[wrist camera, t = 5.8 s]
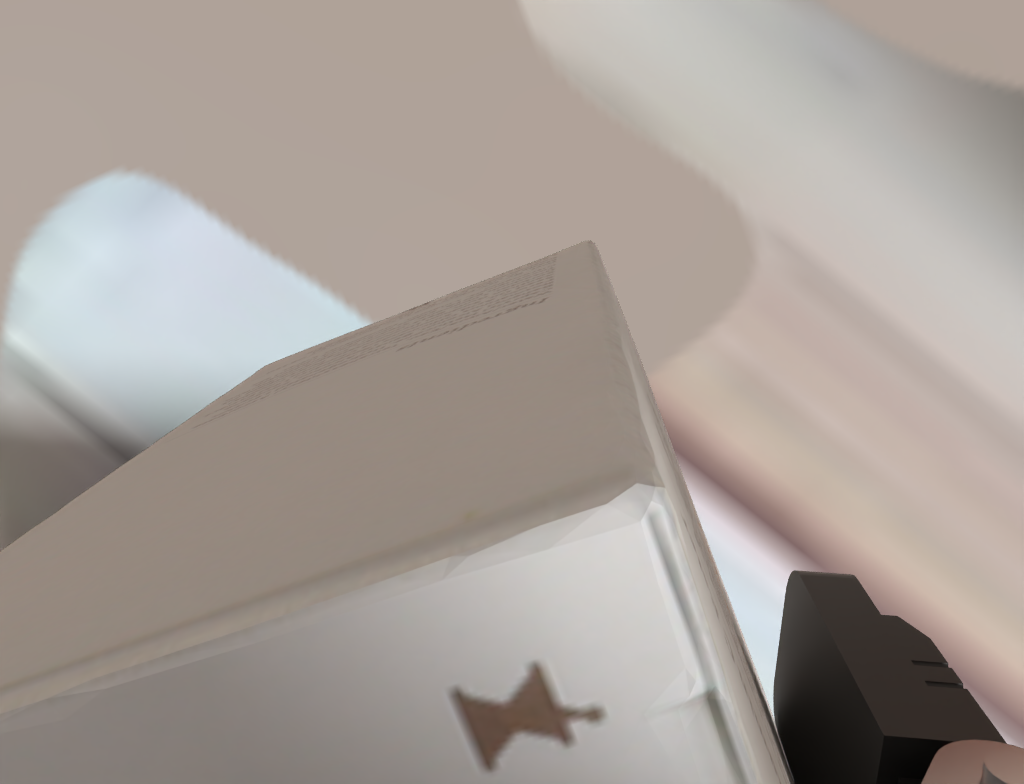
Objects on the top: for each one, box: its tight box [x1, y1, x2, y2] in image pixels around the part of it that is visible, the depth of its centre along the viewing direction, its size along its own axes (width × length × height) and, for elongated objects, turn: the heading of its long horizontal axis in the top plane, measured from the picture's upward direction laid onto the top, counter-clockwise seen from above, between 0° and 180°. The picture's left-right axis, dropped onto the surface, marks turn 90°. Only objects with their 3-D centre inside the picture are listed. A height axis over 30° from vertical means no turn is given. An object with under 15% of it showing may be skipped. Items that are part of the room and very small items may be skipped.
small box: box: [0, 241, 795, 784], centre depth 10 cm, size 8×6×10 cm
